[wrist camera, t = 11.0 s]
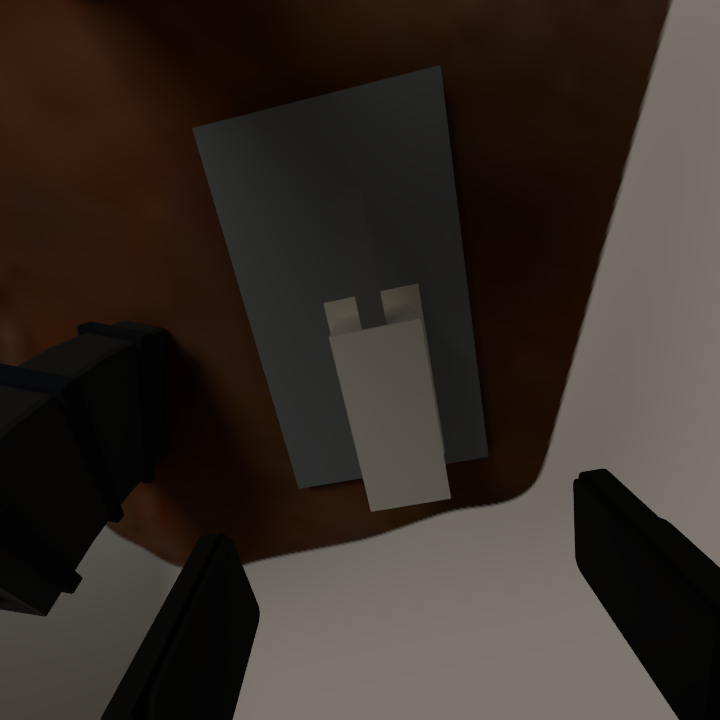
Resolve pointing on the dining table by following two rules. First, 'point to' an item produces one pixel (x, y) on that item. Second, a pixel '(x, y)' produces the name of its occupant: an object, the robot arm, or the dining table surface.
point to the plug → (385, 381)
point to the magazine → (73, 452)
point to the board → (327, 254)
